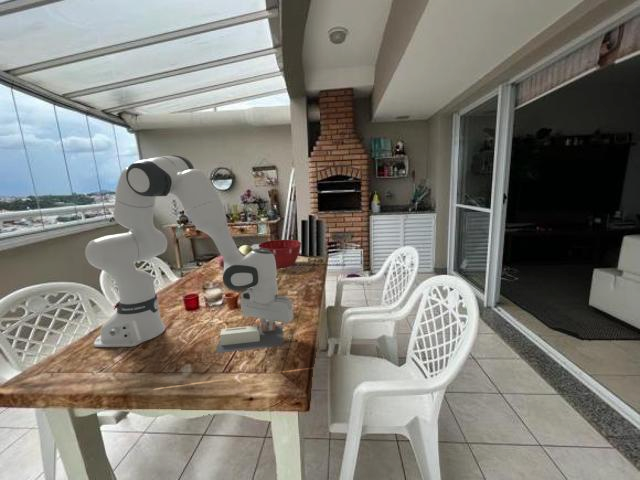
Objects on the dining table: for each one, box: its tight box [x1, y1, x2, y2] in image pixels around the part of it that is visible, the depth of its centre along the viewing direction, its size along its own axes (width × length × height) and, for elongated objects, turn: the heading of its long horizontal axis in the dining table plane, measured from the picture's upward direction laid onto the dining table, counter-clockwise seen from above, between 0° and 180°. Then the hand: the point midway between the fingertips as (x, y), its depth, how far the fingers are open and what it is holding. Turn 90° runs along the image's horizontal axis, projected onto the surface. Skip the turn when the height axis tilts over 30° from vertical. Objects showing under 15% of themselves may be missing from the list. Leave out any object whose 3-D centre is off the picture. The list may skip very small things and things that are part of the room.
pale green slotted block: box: [219, 324, 261, 346], centre depth 100 cm, size 13×4×4 cm, turn 99°
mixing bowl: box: [258, 239, 302, 270], centre depth 191 cm, size 28×28×16 cm
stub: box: [260, 320, 276, 332], centre depth 107 cm, size 5×4×4 cm
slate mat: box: [215, 324, 284, 354], centre depth 102 cm, size 22×15×1 cm
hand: (268, 329), depth 104 cm, fingers closed
